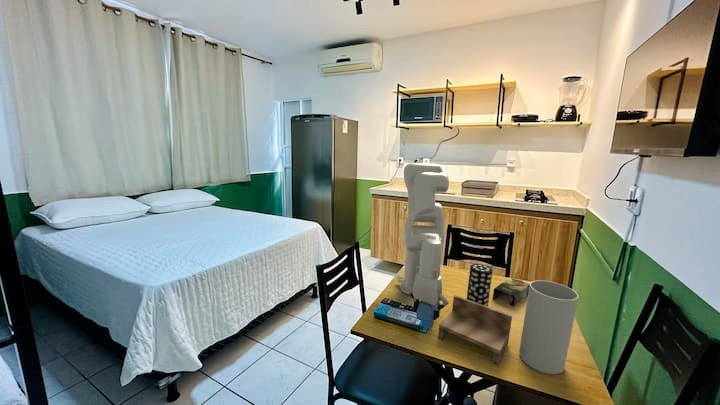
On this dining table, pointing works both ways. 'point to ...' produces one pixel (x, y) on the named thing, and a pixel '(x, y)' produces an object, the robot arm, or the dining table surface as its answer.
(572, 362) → the dining table surface
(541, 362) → the cylinder vase
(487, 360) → the dining table surface
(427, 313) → the perfume bottle
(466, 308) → the brown wooden bench
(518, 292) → the juice carton
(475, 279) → the spotted tube
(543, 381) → the dining table surface
